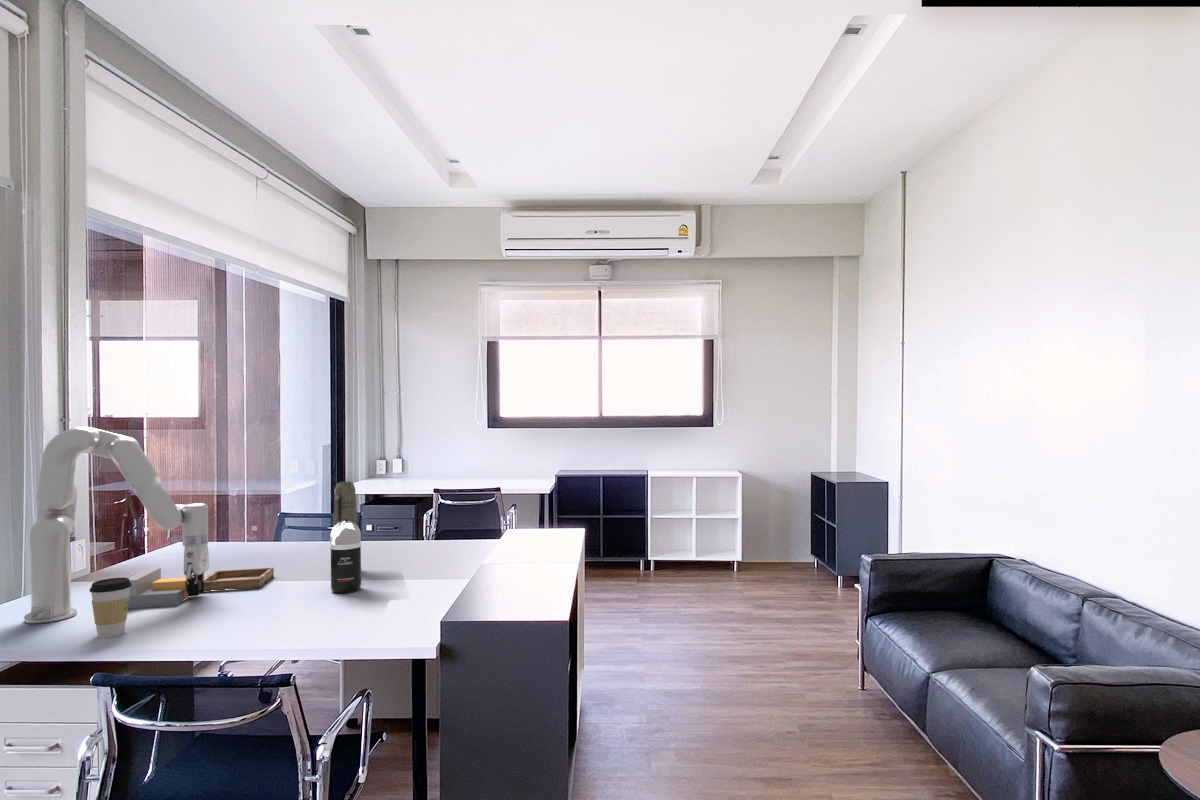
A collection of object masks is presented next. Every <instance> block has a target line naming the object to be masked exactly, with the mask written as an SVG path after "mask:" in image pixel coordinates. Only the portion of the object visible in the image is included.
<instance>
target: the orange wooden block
mask: <svg viewBox="0 0 1200 800" xmlns="http://www.w3.org/2000/svg"><path fill="white" fill-rule="evenodd" d="M187 583H188V580H187V579H186V576H185V577H172V578H171V577H170V578H161V579H158V580H156V581H155V582H153V583H152V591H157V590H173V589H184V599H186V598H188V597H189V596H188V584H187ZM198 583H199V590H201V589H202V580H198ZM198 583H197V584H198ZM189 598H190V597H189ZM189 598H188V599H189ZM186 600H187V599H186Z"/></svg>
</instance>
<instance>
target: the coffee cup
mask: <svg viewBox="0 0 1200 800" xmlns="http://www.w3.org/2000/svg"><path fill="white" fill-rule="evenodd" d="M129 578H130V577H114V578H106V579H100V580H96V581H94V582H92V584H91V586H90V588H89V592H90V593H91V606H92V611H93V618H94V619H93V620H94V624H95V628H96V635H97V638H100V639H105V638H106V639H108V638H113V637H118V636H121V635H123V634H125V630H126V622H127V618H128V611H129V609H128V604H129V597H130V595H129V592H130V587H131V586H132V583H131V582H130V580H129Z"/></svg>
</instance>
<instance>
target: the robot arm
mask: <svg viewBox="0 0 1200 800" xmlns="http://www.w3.org/2000/svg"><path fill="white" fill-rule="evenodd" d="M81 454H88V455H93V456H97V457H100V458H101V457H102V458H105V459H110V460H112V462H113V464H114V465H115V466H116V469H118V471H119V472H120V473H121V475H122V477H123V478H124V480H125V481H126V482H127V484H128V485H129V487H130V488H131V490H132V492H133V493H134V494H135V495H136V497H137V498H138V499H139V501H140V502H141V504H142V506H143V507H144V509H145V511H147V513H148V514H149V516H150V518H151V519H152V520H153V522H154V523H155V525H156V526H157V527H158V528H159V529H162V530H165V531H168V530H169V531H170V530H174V529H176V528H177V527H179V526H180V525H182V546H183V547H184V549H183V574H184V575H185V577H186V579H187V580H188V583H187V584H188V596H191V597H197V596H199V595H200V593H201V594H202V593H205V592H204V578H205V577H204V576H205V575H204V574H205V573H206V572H207V571H208V570H209V569H210V557H209V556H210V555H209V554H210V553H209V546H208V545H209V506H208V504H207V503H203V502H196V503H195V502H194V503H187V504H175V502H174V501H173V499H172V498H171V496H170V495H169V493H168V491H167V490H166V488H165V486H164V483H163V481H162V479H161V477H160V475H159V472H158V471H157V470H156V468H155V467H154V466H153V464H152V463H151V461H150V460H149V458H148V457H147V455H146V454H145V452H144V450H143V449H142V448H141V446H140V443H139V442H138V440H137V439H135V438H134V437H132V436H127V435H123V434H118V433H113V432H110V431H106V430H103V429H99V428H95V427H91V426H86V425H85V426H83V425H82V426H76V427H73V428H69V429H67V430H64V431H62V432H59V433H58V434H56V435H55V436H54V437H53V438H52V439H50V441H49V442H48V443H47V444H46V446H45V448H44V451H43V453H42V456H41V464H40V470H39V476H38V482H37V489H36V490H37V491H36V495H35V498H36V500H35V501H36V503H37V504H38V509H37V518H36V519H37V520H36V521H35V522H34V523H33V524H32V526H31V528H30V532H29V549H30V573H31V575H30V576H31V577H30V582H31V583H30V590H31V591H30V593H31V594H30V598H31V600H30V612H28V613H26V614H25V615H24V616H23V617H24V618H23V619H24V622H25V623H27V624H45V623H52V622H57V621H62V620H65V619H69V618H71V617H74V616H76V615H77V614H78V610H77V608H73V607H72V605H71V604H72V603H71V602H72V601H71V600H72V599H71V597H72V596H71V595H72V592H71V591H72V590H71V589H72V586H71V585H72V576H71V575H72V573H71V572H72V571H71V567H72V566H71V534H72V532H73V531H74V527H75V520H76V519H75V517H76V508H77V500H78V489H77V486H76V485H75V484H74V483H75V481H74V480H75V473H76V472H75V471H76V463H77V459H78V458H79V456H80V455H81ZM198 580H202V589H201V590H199V583H198ZM197 583H198V584H197Z"/></svg>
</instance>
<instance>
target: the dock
mask: <svg viewBox="0 0 1200 800" xmlns="http://www.w3.org/2000/svg"><path fill="white" fill-rule="evenodd" d="M161 574H162V568H161V567H154V568H153V567H151V568H146V569H144V570H142V571H140V572H138V573H136V574H134V575H131V576H130V577H128V578H129V580H130V582H131V583H132V586H131V587H130V592H129V595H130V597H129V604H128V608H130V609H140V608H139V607H145V608H151V607H150V606H160V607H167V606H166V605H175V606H179V605H180V604H181V603H180V602H182V601H183V600H184V589H173V590H157V591H152V583H153V582H155V581H156V580H158V579H162V575H161ZM184 601H185V600H184ZM184 601H183V602H184ZM183 602H182V603H183ZM179 603H180V604H179ZM178 604H179V605H178Z"/></svg>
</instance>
